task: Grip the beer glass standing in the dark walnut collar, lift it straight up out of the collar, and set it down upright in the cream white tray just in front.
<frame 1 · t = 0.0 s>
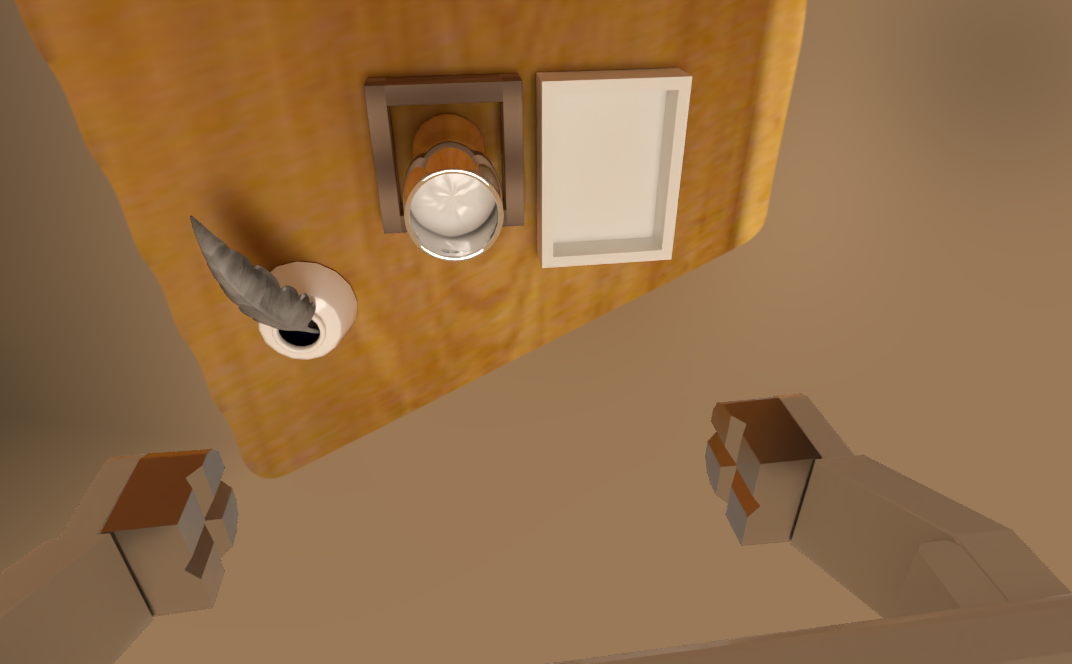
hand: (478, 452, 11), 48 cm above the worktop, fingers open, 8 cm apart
walnut collar: (448, 149, 56), on the worktop
beer glass: (448, 149, 56), resting in walnut collar
inkwell: (279, 266, 60), on the worktop
cream white tray: (603, 165, 59), on the worktop
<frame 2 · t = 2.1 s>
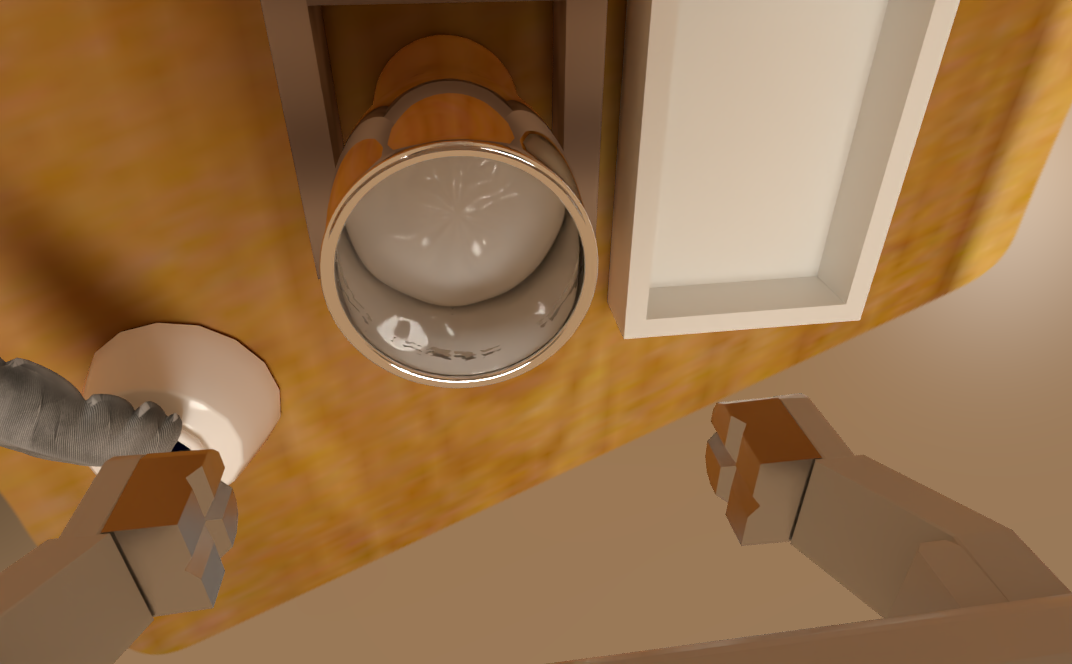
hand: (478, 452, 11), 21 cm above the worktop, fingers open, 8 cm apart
walnut collar: (447, 111, 28), on the worktop
beer glass: (447, 110, 28), resting in walnut collar
inkwell: (127, 330, 32), on the worktop
cream white tray: (743, 143, 31), on the worktop
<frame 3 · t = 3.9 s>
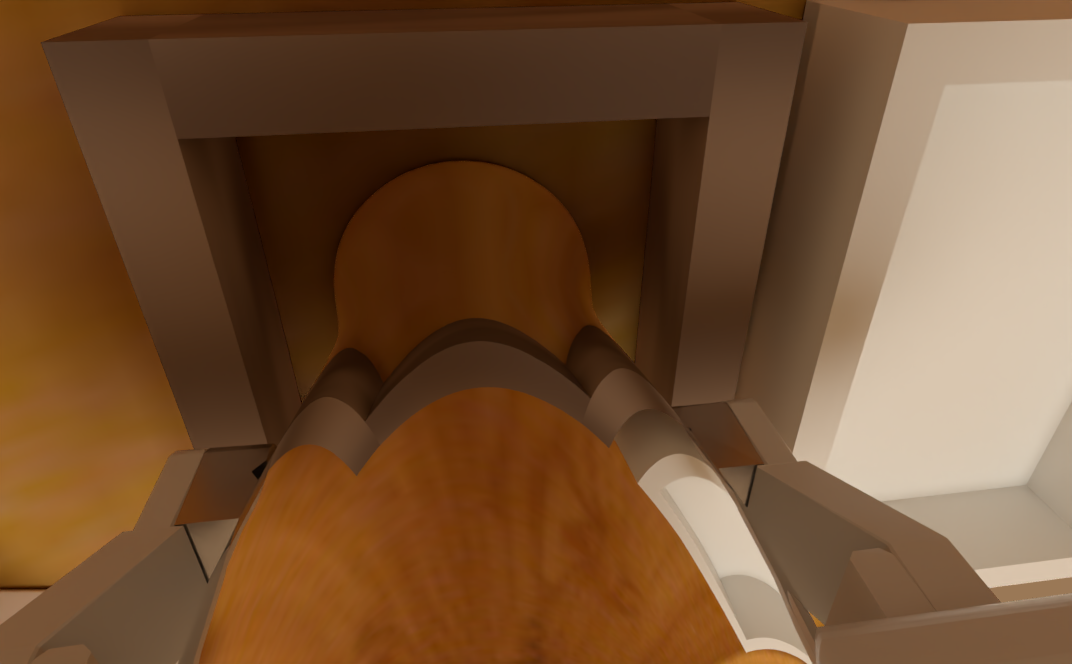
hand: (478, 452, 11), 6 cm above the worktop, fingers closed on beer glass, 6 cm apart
walnut collar: (464, 280, 16), on the worktop
beer glass: (464, 276, 16), resting in walnut collar, touching gripper
cream white tray: (946, 309, 19), on the worktop
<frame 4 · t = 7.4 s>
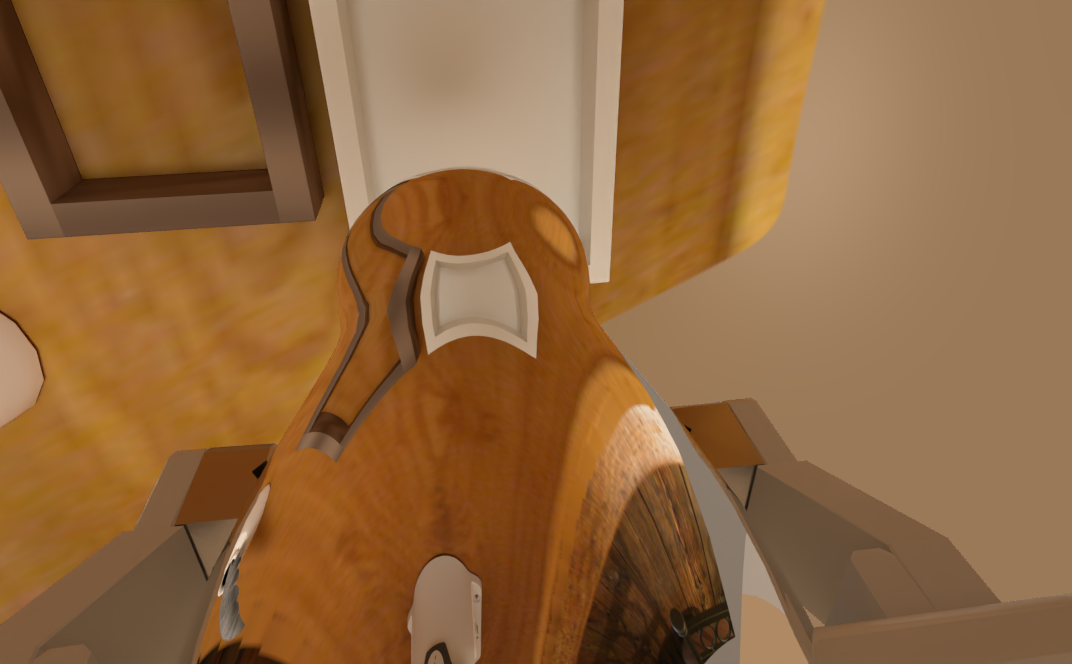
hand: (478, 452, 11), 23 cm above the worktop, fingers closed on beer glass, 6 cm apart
walnut collar: (153, 71, 28), on the worktop
beer glass: (465, 281, 17), point 17 cm above the worktop, touching gripper
cream white tray: (473, 104, 31), on the worktop
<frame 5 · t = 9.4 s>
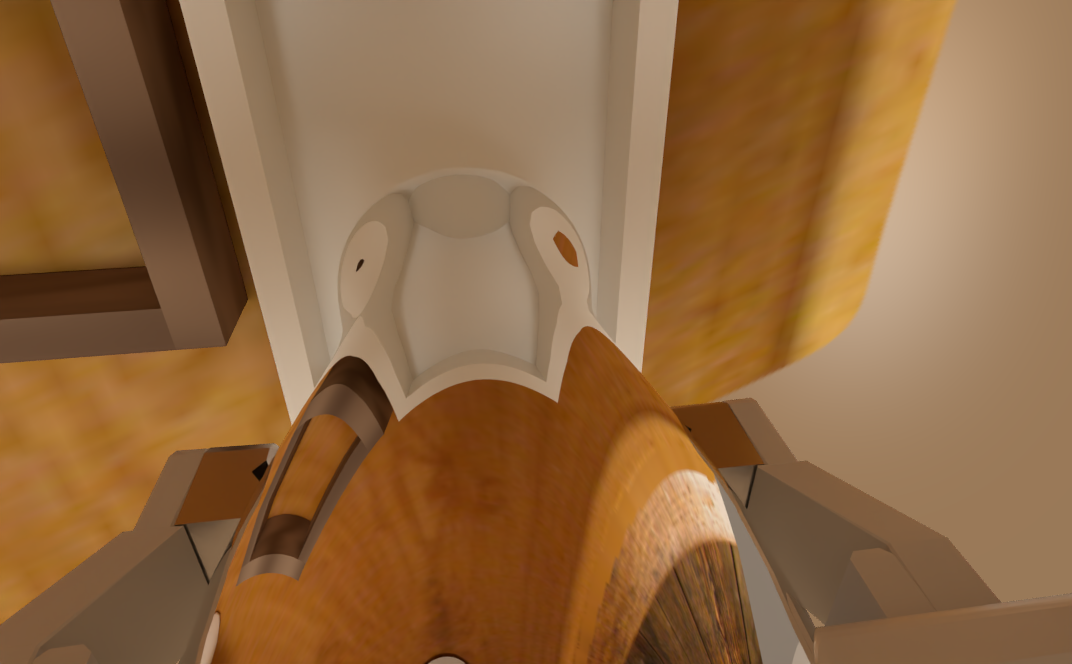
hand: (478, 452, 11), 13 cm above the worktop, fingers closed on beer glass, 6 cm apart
beer glass: (466, 281, 17), point 7 cm above the worktop, touching gripper
cream white tray: (452, 178, 22), on the worktop
when the fingers open (8 cm above the worktop, at t = 11.0 s): beer glass drops 1 cm, resting on cream white tray.
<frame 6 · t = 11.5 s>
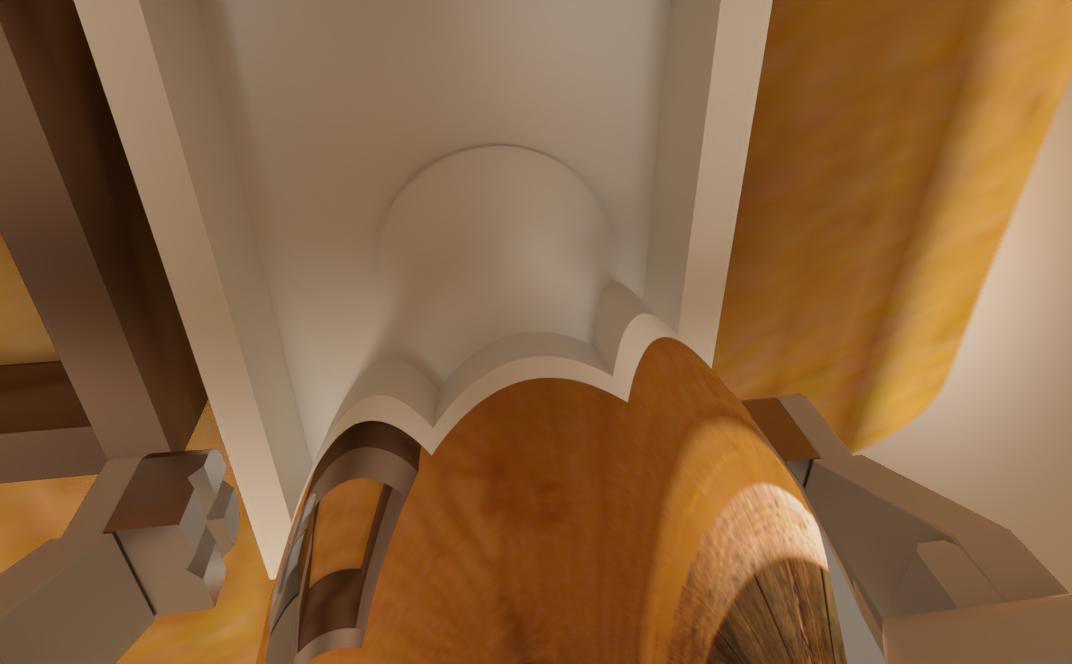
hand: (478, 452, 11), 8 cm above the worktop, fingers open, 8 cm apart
beer glass: (495, 255, 18), resting on cream white tray, touching gripper
cream white tray: (461, 252, 18), on the worktop
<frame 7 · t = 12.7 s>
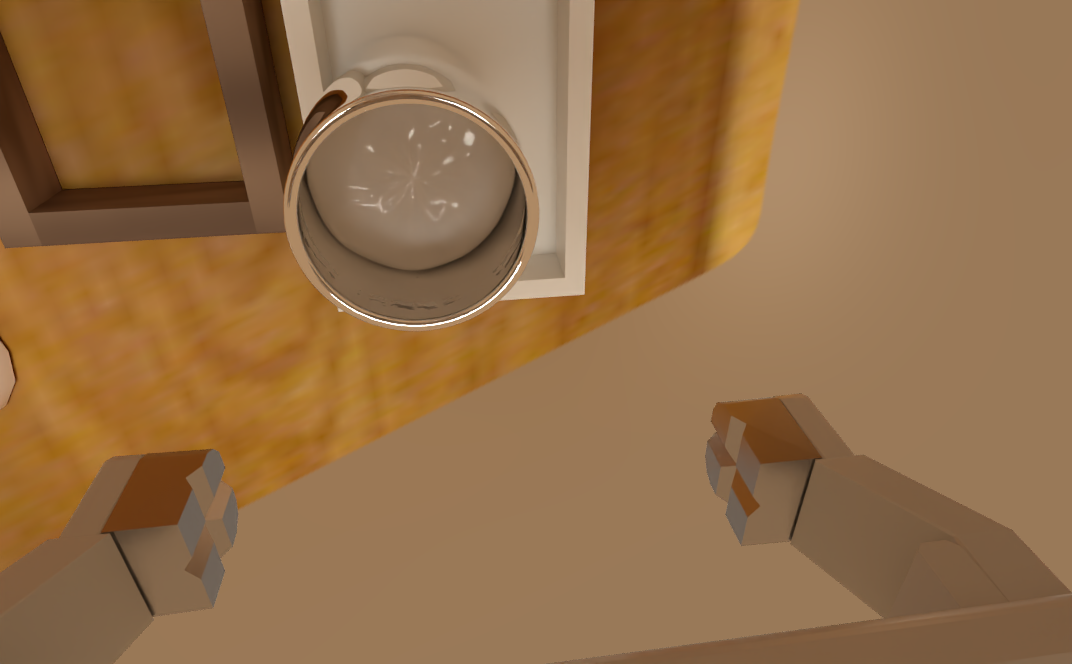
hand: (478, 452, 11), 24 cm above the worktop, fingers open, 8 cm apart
walnut collar: (133, 84, 29), on the worktop
beer glass: (410, 106, 30), point 1 cm above the worktop, touching cream white tray
cream white tray: (450, 118, 31), on the worktop
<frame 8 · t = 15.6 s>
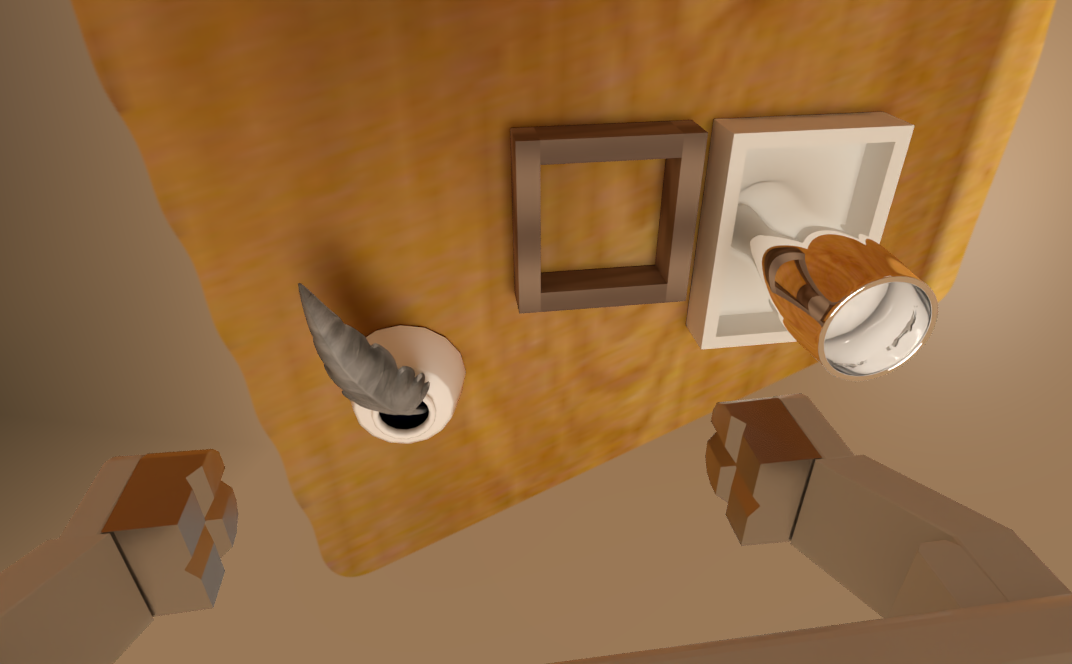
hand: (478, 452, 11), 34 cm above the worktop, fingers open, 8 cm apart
walnut collar: (598, 211, 46), on the worktop
beer glass: (758, 220, 48), resting on cream white tray
inkwell: (377, 329, 49), on the worktop
cream white tray: (777, 226, 49), on the worktop
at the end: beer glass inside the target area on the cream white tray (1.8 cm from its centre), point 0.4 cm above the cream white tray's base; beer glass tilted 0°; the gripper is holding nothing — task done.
